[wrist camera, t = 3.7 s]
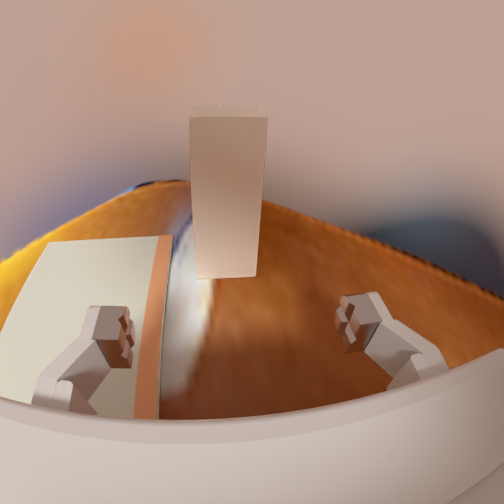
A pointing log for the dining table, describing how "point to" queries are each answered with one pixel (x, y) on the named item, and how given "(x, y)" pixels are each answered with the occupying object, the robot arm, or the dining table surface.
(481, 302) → the dining table surface
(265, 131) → the cream post
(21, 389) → the mat
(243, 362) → the dining table surface
